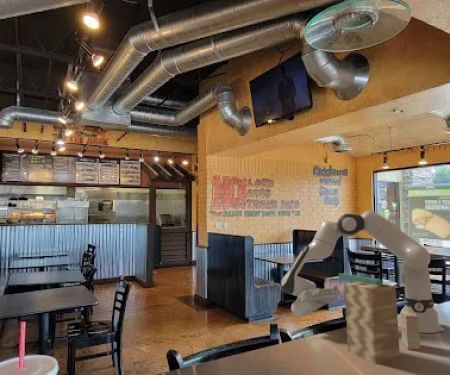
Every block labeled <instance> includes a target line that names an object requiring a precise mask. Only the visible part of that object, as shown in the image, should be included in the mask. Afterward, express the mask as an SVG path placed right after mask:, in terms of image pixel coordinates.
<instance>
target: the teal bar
mask: <svg viewBox="0 0 450 375" xmlns="http://www.w3.org/2000/svg"><path fill="white" fill-rule="evenodd" d="M338 280H341V281H345V282H348V283H351V281H358V282H363V283H369V284H374V285H379V286H380V287H381V286H382V284H383V283H382V279H378V278H372V277H367V276H359V275H356V274H355V275H354V274H349V273H344V272H342V273H341V272H340V273H338Z"/></svg>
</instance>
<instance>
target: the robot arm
mask: <svg viewBox="0 0 450 375" xmlns="http://www.w3.org/2000/svg"><path fill="white" fill-rule="evenodd" d="M360 232H364V233H367V234H368V235H370V237H372V238H373V239H374V240H376V242H377V243H379V244H380V245H382V246H383V247H384V248H386V249H387V250H388V251H389V252H390V253H392V254H393V255H394V256H396V257H397V258H398V259H399V260H400V261H402V262H401V263H402V274H403V281H404V282H403V283H404V297H403V298H404V299H403V301H404V307H403V308H402V309H401V311H412V312H413V313H415V314H416V315H417V316H418V323H419V333H422V334H432V333H433V334H435V333H440V332H445V328H444V327H442V326H441V325H440V322H439V315H438V314H439V313H438V311H436V309H435V308H434V298H433V296H432V285H431V283H432V282H431V277H430V272H429V271H430V270H429V264H430V263H431V255H430V251H429V250H428V249H427V248H425V247H424V246H423V245H421V244H420V243H419V242H418V241H416V240H415V239H413V238H412V237H411V236H409V235H408V234H406V233H405V232H404V231H402V229H400V228H398V227H397V226H396V225H395V224H393V223H392V222H391V221H389V220H388V219H387V218H385V217H383V216H382V215H380V214H379V213H377V212H375V211H373V210H366V211H365V212H363V213H362V214H361V215H360V214H354V213H345V214H343V215H341V216H340V217H339V218H338V220H337V221H336V222H335V221H331V220H326V221H325V220H324V221H323V222H322V223H321V224H320V226H318V228H317V230H316V232H315V235H314V237H313V239H312V241H311V242H310V243H309V244H308V245H304V246H303V247H302V248H301V250H300V251H299V253H298V254H297V255H296V257H295V258H294V261H293V263H292V264H291V265H290V267H289V269H288V270H287V272H285V274H284V275H283V277H282V279H281V281H280V286H281V290H282V291H283V292H284V293H285V294H289V295H293V296H295V297H297V298H296V299H295V301H294V302H292V304H291V306H290V311H291V312H292V313H293V315H295V316H296V317H300V318H303V317H306V316H308V315H309V314H311V313H312V312H314V311H315V310H317V309H319V308H321V307H323V306H328V305H330V304H331V303H332V301H334V300H336V299H338V297H340V295H341V292H340V289H339V286H337V285H335V286H332V287H327V288H321V287H318V286H317V284H316V283H315V282H314V281H313V280H312V281H311V280H309V279H305V278H304V277H301V276H298V275H299V273H300V271H301V270H302V268H303V266H304V264H305V263H306V262H308V261H309V260H323V259H327V258H329V257H330V256H332V254H333V252H334V249H335V247H336V244H337V241H338V240H339V238H340V237H348V238H350V237H354V236H357V235H358V234H359V233H360ZM398 328H401V321H400V322H399V323H398Z"/></svg>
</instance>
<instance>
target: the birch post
mask: <svg viewBox="0 0 450 375" xmlns="http://www.w3.org/2000/svg"><path fill="white" fill-rule="evenodd" d="M396 288H397V287H396V285H392V284H391V285H390V284H387V283H382V286H381V287H380V286H379V285H374V284H369V283H363V282H358V281H351V282H344V294H345V295H344V297H345V298H344V299H345V316H346V317H345V318H346V320H345V321H346V336H347V337H346V338H347V351H348V352H350V353H351V354H353V355H356V356H358V357H361V358H363V359H365V360H367V361H369V362H372V363H373V364H379V363H385V362H388V361H392V360H398V359H401V353H400V352H401V351H400V338H399V337H400V336H399V335H400V334H399V327H398V324H399V323H398V322H399V321H398V304H397V290H396Z"/></svg>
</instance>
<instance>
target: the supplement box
mask: <svg viewBox="0 0 450 375" xmlns="http://www.w3.org/2000/svg"><path fill="white" fill-rule="evenodd" d="M400 322H401V327H400V328H401V341H402V345H404V346H405V348H406V349H407V350H411V351H421V340H420V339H421V338H420V332H419V323H418V316H417V315H416V314H415V313H413V312H412V311H402V310H401V311H400Z"/></svg>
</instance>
